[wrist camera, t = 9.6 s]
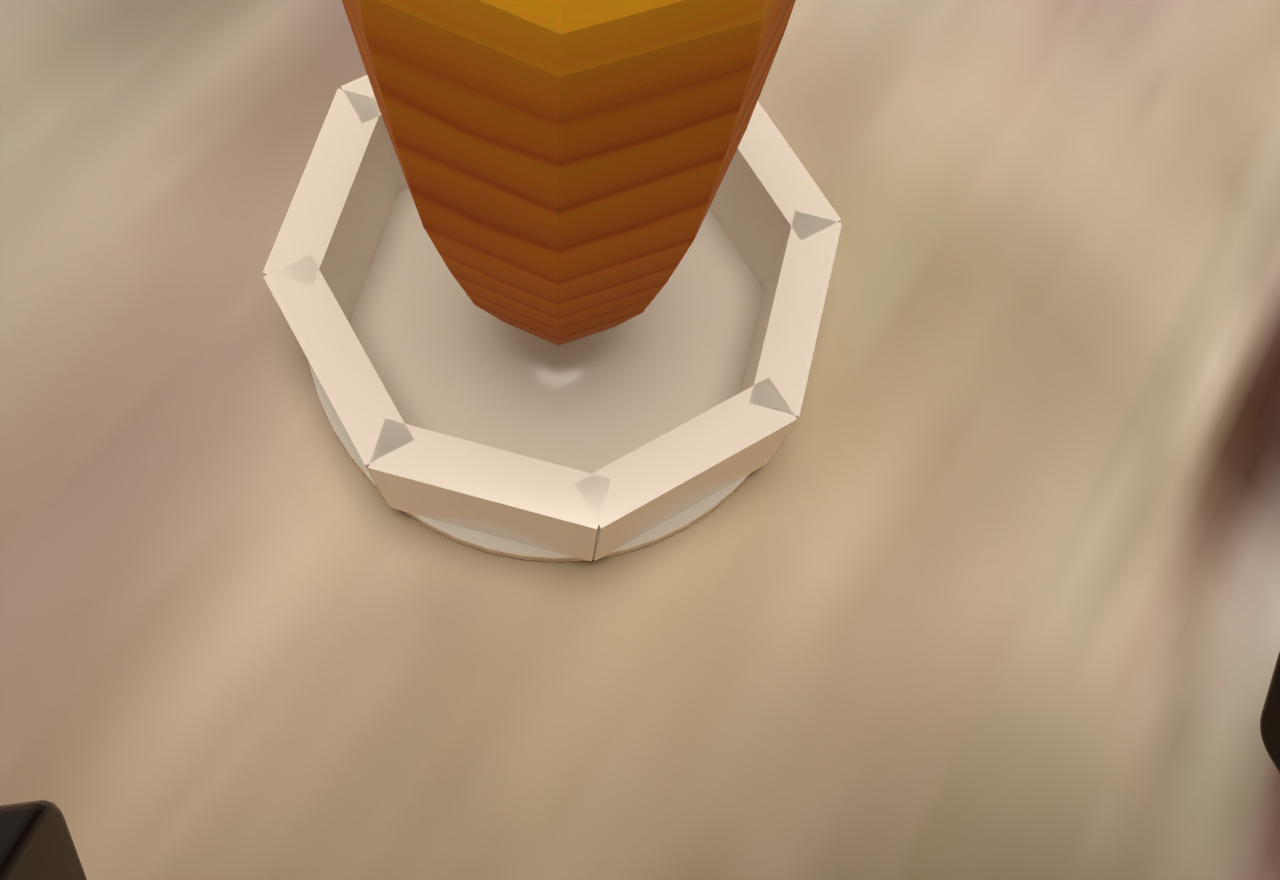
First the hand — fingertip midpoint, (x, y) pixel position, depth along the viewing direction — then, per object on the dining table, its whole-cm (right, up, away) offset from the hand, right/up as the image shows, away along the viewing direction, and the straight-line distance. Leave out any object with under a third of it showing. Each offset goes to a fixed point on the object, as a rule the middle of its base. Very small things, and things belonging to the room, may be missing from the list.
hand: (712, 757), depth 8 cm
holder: (-2, +5, +12) cm, 13 cm away
